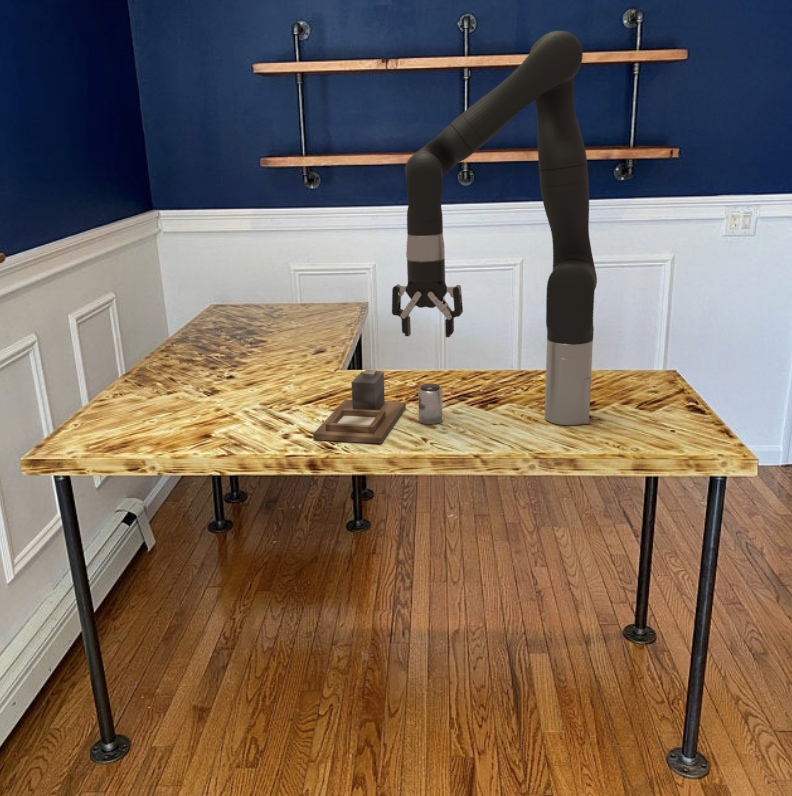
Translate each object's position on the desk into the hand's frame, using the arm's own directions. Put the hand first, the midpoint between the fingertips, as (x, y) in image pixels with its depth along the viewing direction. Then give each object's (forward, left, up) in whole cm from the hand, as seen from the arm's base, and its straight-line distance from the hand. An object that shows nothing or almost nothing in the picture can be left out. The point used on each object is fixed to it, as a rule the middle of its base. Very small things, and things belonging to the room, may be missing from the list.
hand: (427, 336), depth 170 cm
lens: (0, 0, -18) cm, 18 cm away
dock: (+14, +4, -18) cm, 23 cm away
